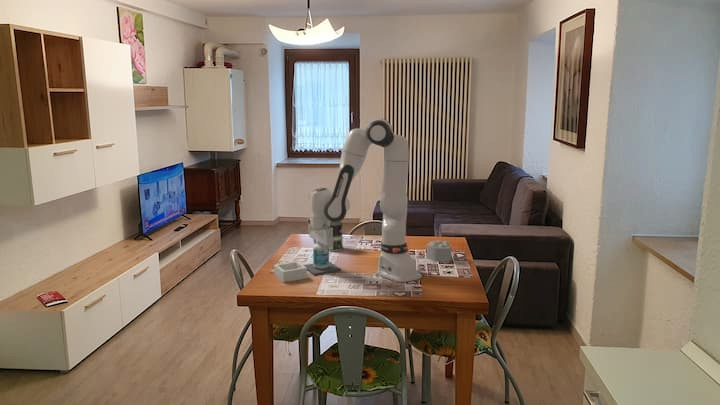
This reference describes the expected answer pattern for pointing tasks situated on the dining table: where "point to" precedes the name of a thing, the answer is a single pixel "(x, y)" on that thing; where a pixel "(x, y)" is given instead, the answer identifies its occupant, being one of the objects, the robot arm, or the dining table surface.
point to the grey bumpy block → (439, 251)
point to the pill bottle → (320, 256)
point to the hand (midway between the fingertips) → (321, 250)
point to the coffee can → (336, 236)
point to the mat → (316, 271)
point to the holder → (290, 271)
